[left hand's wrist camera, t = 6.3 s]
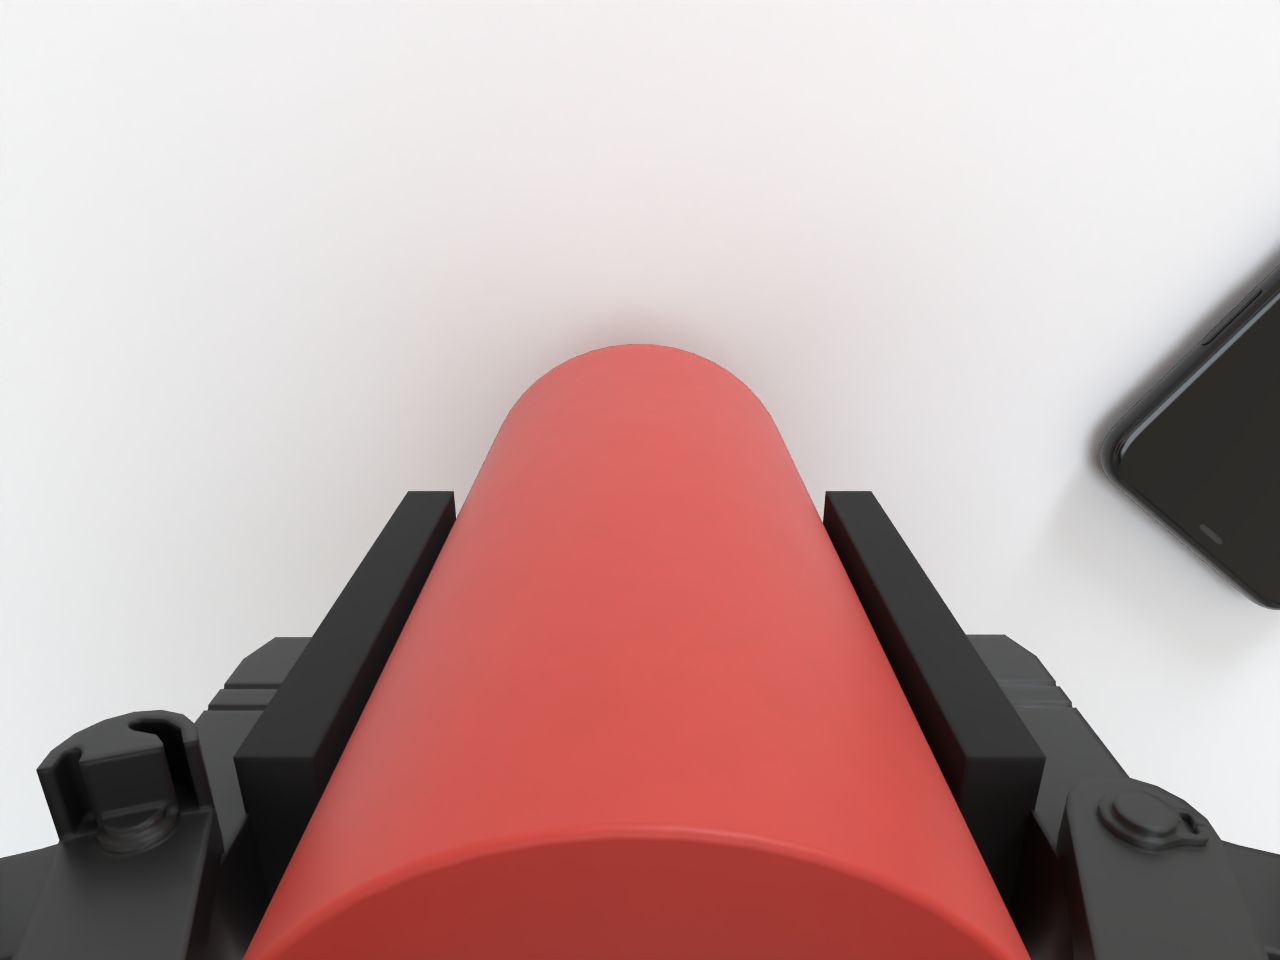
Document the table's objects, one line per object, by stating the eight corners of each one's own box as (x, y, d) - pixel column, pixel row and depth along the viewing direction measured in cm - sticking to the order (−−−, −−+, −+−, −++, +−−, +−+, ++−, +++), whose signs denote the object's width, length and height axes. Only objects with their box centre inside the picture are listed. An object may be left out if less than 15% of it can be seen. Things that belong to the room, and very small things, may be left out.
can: (718, 290, 16) (924, 679, 4) (831, 556, 18) (1171, 1293, 6) (433, 421, 17) (-10, 1025, 5) (572, 660, 19) (467, 1462, 7)
